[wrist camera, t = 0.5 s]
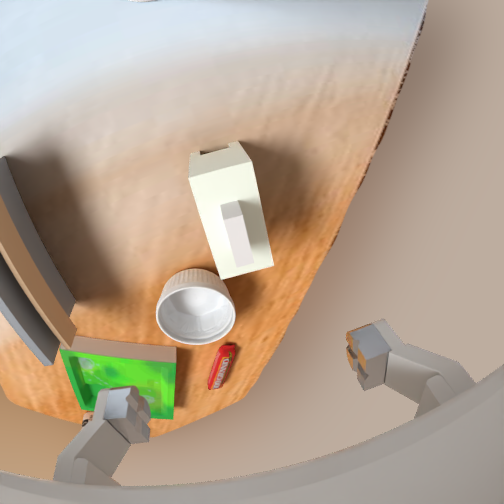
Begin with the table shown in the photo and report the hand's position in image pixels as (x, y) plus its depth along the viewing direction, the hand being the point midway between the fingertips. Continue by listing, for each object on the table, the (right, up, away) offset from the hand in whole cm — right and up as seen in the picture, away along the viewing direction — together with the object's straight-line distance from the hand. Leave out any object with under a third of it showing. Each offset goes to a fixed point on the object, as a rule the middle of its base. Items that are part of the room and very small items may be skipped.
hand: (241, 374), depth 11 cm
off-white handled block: (-4, +14, +35) cm, 38 cm away
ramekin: (-10, -3, +44) cm, 46 cm away
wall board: (-37, +7, +32) cm, 50 cm away
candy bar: (-7, -21, +56) cm, 60 cm away
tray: (-30, -24, +54) cm, 67 cm away
